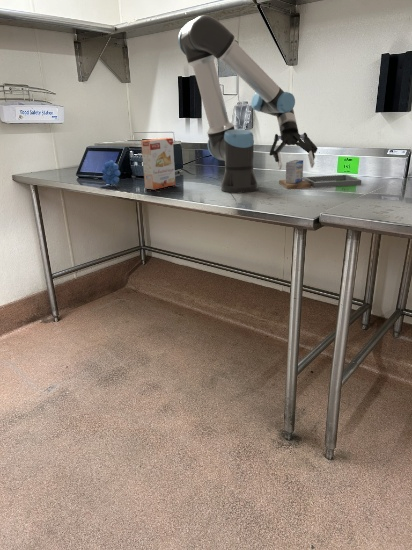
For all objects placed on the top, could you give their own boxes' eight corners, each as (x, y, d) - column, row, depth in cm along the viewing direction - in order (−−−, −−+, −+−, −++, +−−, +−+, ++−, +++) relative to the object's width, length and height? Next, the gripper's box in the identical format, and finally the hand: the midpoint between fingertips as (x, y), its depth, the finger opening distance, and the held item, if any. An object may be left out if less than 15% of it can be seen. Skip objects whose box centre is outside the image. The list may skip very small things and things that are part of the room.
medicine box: (295, 183, 171) (296, 162, 167) (285, 183, 173) (285, 162, 170) (302, 180, 176) (303, 160, 173) (293, 180, 179) (293, 159, 176)
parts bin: (313, 187, 169) (314, 182, 168) (302, 181, 182) (302, 177, 182) (360, 185, 170) (361, 180, 169) (346, 179, 184) (346, 174, 183)
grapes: (128, 185, 191) (125, 159, 187) (117, 188, 186) (114, 161, 182) (111, 184, 198) (107, 158, 193) (100, 186, 193) (96, 160, 188)
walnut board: (287, 189, 169) (287, 185, 168) (279, 183, 181) (279, 180, 180) (310, 187, 170) (311, 183, 169) (301, 182, 182) (301, 178, 181)
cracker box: (154, 191, 176) (149, 140, 168) (144, 190, 180) (139, 140, 172) (176, 186, 186) (173, 137, 178) (167, 184, 189) (163, 137, 181)
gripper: (313, 131, 182) (323, 170, 174) (258, 134, 181) (265, 173, 173) (318, 118, 175) (328, 159, 167) (261, 121, 174) (268, 162, 166)
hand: (296, 166), depth 170 cm, fingers open, 13 cm apart
